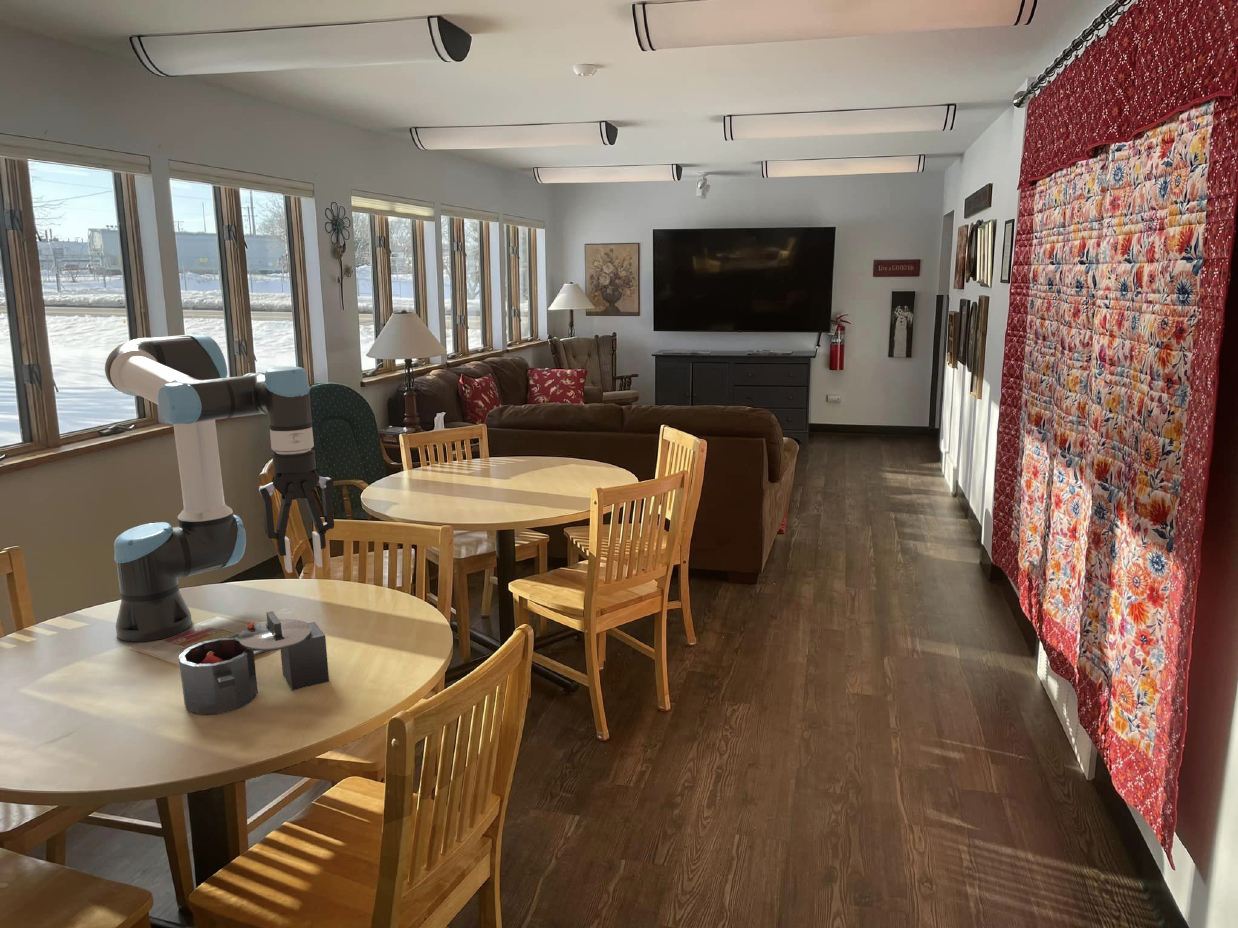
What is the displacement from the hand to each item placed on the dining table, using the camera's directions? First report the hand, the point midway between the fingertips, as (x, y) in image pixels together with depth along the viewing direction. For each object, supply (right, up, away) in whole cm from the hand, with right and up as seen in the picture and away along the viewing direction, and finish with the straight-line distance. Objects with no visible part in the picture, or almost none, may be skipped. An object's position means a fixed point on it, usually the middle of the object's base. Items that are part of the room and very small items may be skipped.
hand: (303, 567), depth 172 cm
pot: (-14, -24, -4) cm, 28 cm away
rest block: (-1, -22, +4) cm, 23 cm away
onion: (-15, -24, -4) cm, 28 cm away
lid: (-5, -13, 0) cm, 14 cm away
